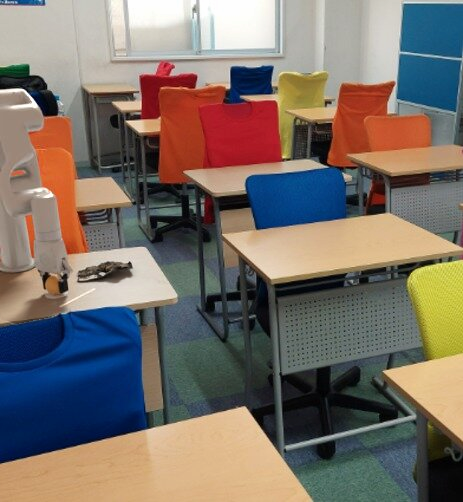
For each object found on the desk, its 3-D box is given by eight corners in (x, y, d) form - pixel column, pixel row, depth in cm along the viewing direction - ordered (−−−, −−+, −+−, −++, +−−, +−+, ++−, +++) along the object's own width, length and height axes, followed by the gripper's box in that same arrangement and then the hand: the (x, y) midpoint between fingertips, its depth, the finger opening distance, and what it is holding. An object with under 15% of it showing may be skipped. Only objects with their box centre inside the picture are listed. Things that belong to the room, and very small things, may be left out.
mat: (30, 301, 187) (30, 299, 186) (68, 282, 199) (68, 281, 199) (79, 314, 177) (78, 312, 177) (115, 294, 190) (115, 292, 189)
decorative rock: (77, 276, 194) (69, 258, 207) (80, 293, 197) (72, 274, 209) (135, 262, 201) (124, 246, 213) (138, 279, 203) (126, 261, 216)
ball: (42, 295, 189) (39, 277, 187) (56, 288, 194) (54, 270, 192) (56, 299, 186) (53, 280, 184) (70, 292, 191) (68, 274, 189)
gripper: (18, 234, 185) (27, 289, 191) (59, 242, 176) (67, 299, 182) (37, 227, 191) (45, 281, 197) (78, 234, 182) (85, 290, 188)
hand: (56, 289), depth 190 cm, fingers open, 6 cm apart
